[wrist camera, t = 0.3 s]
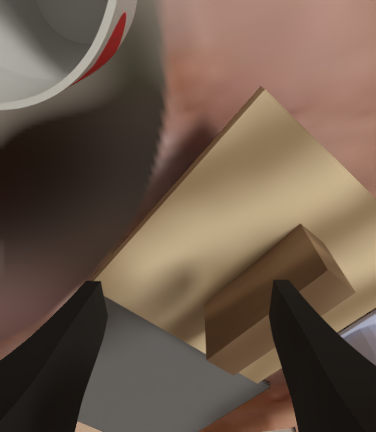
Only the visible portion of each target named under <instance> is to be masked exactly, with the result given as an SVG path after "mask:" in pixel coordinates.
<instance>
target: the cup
mask: <svg viewBox="0 0 376 432" xmlns="http://www.w3.org/2000/svg"><path fill="white" fill-rule="evenodd" d="M136 4H137V0H0V110H11V109H18V108H23V107H27V106H31V105H34V104H37V103H40V102H42V101H45V100H47V99H49V98H51V97H52V96H54V95H56V94H58V93H60V92H61V91H63V90H65V89H67V88H68V87H70V86H72V85H73V84H75V83H77V82H78V81H80V80H82V79H84V78H85V77H87V76H89V75H91V74H92V73H94V72H95V71H97V70H98V69H99V68H101V67H102V66H103V65H104V64H105V63H106V62H107V61H108V60H109V59H110V58H111V57H112V56H113V55H114V54H115V52H116V51H117V49H118V48H119V46H120V45H121V43H122V42H123V40H124V38H125V36H126V34H127V32H128V30H129V28H130V26H131V24H132V21H133V18H134V14H135V10H136Z"/></svg>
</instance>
